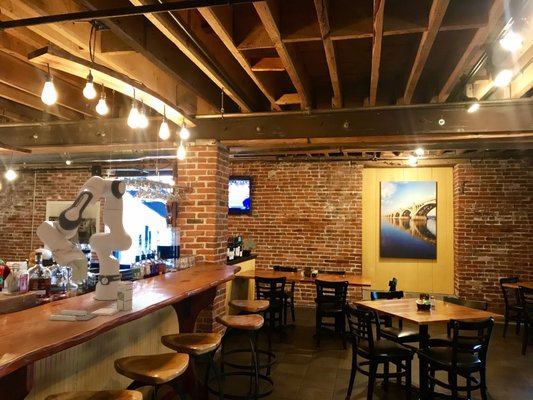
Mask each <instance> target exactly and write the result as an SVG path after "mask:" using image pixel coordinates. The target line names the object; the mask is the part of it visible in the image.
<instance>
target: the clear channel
mask: <svg viewBox="0 0 533 400" xmlns="http://www.w3.org/2000/svg"><path fill="white" fill-rule="evenodd" d="M62 314H63V315H62ZM84 315H85V316H84ZM77 316H81V317H79V318H77ZM98 316H99V315H98V314H91V313H87V310H66V309H65V310H64V309H63V310H61V314H60V315H59V314H58V315H57V314H50V315H49V320H50V321H76V322H88V321H90V320H93V319H95V318H96V317H98Z"/></svg>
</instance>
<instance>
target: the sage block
mask: <svg viewBox="0 0 533 400" xmlns="http://www.w3.org/2000/svg"><path fill="white" fill-rule="evenodd" d="M74 260H75V261H73V263H74V265H76V266H78V267H79V270H78V271H75V270H74V269H72V268H71V280H72V281H83V280H86V279H88V265H89V263H88V261H89V259H88V258H87V257H86V258H78V259H74Z"/></svg>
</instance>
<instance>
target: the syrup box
mask: <svg viewBox="0 0 533 400" xmlns="http://www.w3.org/2000/svg"><path fill="white" fill-rule="evenodd" d="M133 289H134V282H133V281H130V280H129V281H128V280H121V282H118V292H117V299H116V309H119V311H124V312H125V311H129V310H132V309H133V295H134V294H133V291H134V290H133Z"/></svg>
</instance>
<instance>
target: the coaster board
mask: <svg viewBox="0 0 533 400" xmlns="http://www.w3.org/2000/svg"><path fill="white" fill-rule="evenodd" d="M118 312H120V310H119V309H117V308H103V307H101V308H99V309H97V310H94V311H93V312H91V313H90V314H98V316H110V317H111V316H113V315H115V314H117V313H118Z"/></svg>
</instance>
